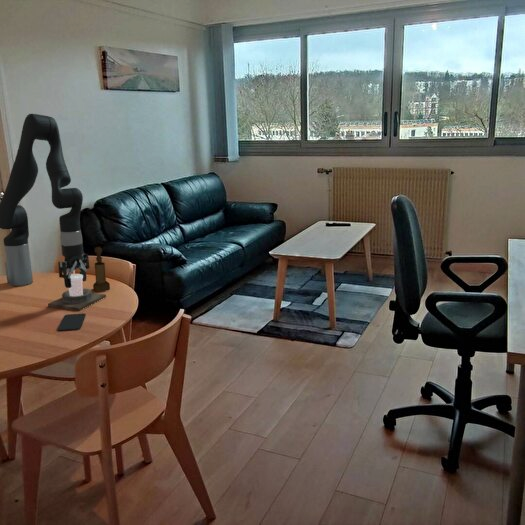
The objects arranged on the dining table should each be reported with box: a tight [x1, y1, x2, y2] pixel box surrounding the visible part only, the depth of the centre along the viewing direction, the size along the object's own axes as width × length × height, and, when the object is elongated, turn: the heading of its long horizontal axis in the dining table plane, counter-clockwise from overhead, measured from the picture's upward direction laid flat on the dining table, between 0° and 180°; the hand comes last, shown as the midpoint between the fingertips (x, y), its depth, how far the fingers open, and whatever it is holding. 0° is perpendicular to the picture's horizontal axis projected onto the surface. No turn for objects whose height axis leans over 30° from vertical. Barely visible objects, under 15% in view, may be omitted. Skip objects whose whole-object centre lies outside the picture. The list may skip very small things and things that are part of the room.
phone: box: [57, 313, 87, 332], centre depth 180 cm, size 7×1×15 cm
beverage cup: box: [68, 269, 84, 296], centre depth 198 cm, size 6×6×14 cm
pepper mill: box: [92, 246, 111, 293], centre depth 212 cm, size 7×6×18 cm
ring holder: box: [47, 288, 107, 312], centre depth 199 cm, size 14×16×4 cm
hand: (76, 284), depth 198 cm, fingers open, 8 cm apart
